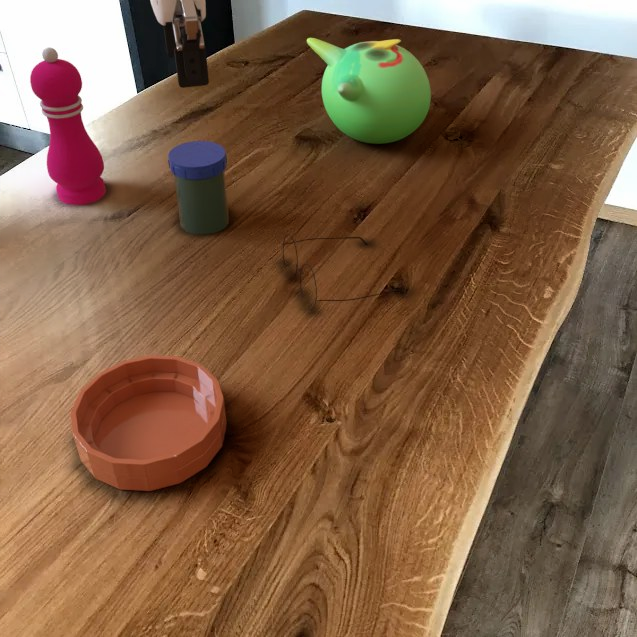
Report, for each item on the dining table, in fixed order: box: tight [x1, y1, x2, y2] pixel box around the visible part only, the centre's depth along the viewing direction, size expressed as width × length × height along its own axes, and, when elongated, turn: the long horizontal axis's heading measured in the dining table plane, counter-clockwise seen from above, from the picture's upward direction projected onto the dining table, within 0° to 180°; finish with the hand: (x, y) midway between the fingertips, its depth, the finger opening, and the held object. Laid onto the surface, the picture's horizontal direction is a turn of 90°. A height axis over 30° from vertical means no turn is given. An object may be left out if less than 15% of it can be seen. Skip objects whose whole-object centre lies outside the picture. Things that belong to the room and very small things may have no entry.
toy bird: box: [306, 37, 432, 145], centre depth 109 cm, size 18×17×15 cm
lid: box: [167, 140, 228, 180], centre depth 89 cm, size 7×7×2 cm
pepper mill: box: [29, 47, 107, 206], centre depth 93 cm, size 7×7×20 cm
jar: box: [173, 170, 230, 235], centre depth 91 cm, size 6×6×9 cm
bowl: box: [69, 354, 228, 492], centre depth 65 cm, size 13×13×4 cm
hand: (187, 69), depth 81 cm, fingers open, 8 cm apart
